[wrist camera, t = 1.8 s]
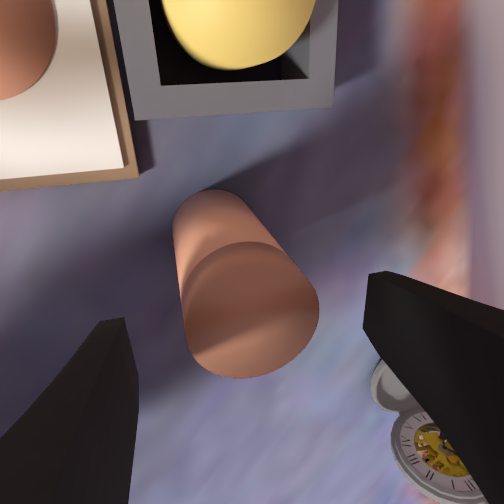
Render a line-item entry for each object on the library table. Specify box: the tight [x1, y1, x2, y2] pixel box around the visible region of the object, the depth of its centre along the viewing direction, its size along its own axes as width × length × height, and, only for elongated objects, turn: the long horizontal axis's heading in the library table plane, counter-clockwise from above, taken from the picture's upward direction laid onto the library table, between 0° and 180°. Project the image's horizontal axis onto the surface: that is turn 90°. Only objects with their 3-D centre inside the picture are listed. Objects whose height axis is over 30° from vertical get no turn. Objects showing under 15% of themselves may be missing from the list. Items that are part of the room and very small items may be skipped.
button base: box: [113, 0, 338, 120], centre depth 12 cm, size 7×7×3 cm
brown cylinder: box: [172, 189, 319, 378], centre depth 14 cm, size 4×4×8 cm
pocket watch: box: [370, 359, 489, 504], centre depth 21 cm, size 8×8×10 cm
